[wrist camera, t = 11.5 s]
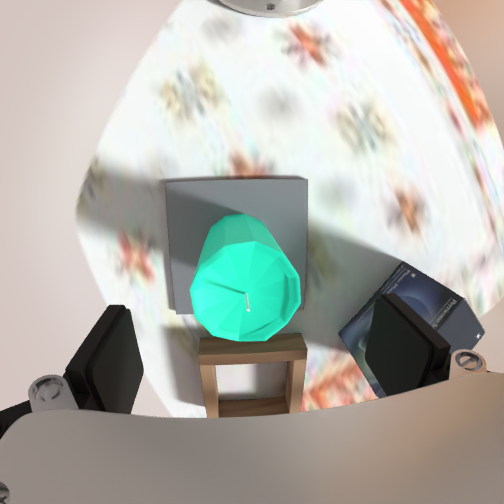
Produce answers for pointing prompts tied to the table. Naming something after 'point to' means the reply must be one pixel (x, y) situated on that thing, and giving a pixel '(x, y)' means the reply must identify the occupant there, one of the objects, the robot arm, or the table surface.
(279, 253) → the candle
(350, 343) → the small box
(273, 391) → the table surface
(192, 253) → the slate mat
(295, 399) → the holder
